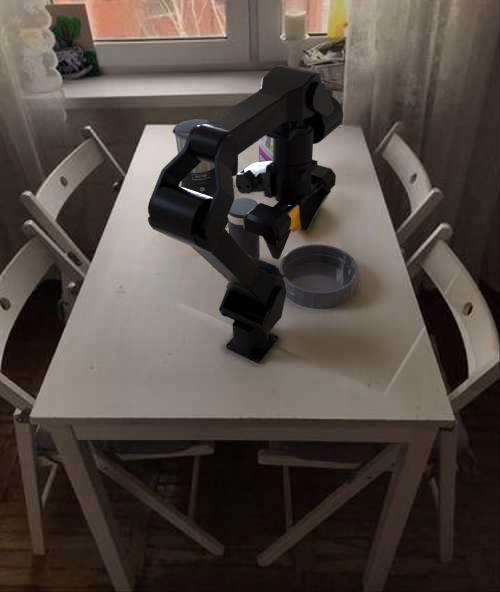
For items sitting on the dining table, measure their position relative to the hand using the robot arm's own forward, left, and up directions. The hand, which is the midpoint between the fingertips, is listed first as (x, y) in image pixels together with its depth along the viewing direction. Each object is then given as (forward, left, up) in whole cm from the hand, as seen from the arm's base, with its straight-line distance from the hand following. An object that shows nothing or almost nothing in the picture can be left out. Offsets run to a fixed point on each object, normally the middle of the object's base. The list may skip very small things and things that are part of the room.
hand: (290, 243), depth 93 cm
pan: (+7, -2, -13) cm, 15 cm away
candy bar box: (+36, +24, -13) cm, 45 cm away
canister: (+4, +12, -13) cm, 18 cm away
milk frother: (+27, +39, -13) cm, 49 cm away
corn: (+25, +11, -13) cm, 30 cm away
